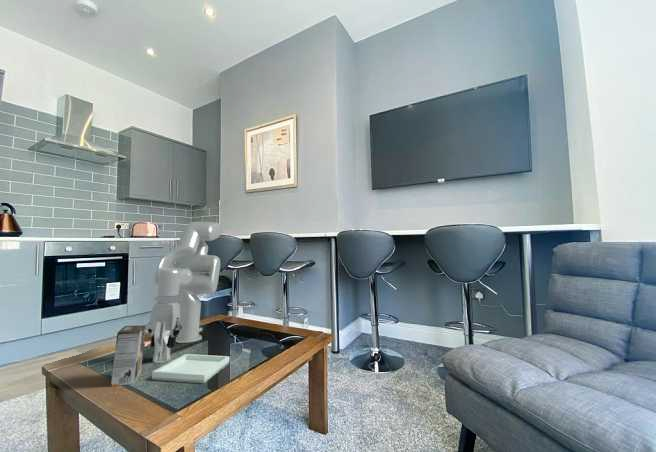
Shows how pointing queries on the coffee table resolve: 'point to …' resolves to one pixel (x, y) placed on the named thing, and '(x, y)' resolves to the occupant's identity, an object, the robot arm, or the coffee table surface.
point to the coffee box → (128, 355)
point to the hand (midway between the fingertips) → (162, 346)
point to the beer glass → (161, 343)
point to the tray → (191, 368)
